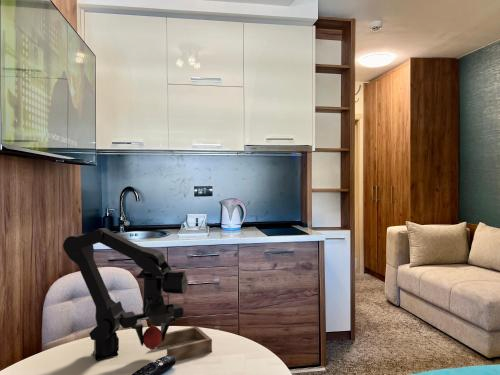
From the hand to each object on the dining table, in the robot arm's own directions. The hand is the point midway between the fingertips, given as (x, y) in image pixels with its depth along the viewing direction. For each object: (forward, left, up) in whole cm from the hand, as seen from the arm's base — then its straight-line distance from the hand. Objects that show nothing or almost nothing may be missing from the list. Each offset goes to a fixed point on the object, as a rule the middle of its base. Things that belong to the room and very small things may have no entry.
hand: (152, 343), depth 110 cm
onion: (0, 0, -2) cm, 2 cm away
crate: (+10, 0, -4) cm, 11 cm away
